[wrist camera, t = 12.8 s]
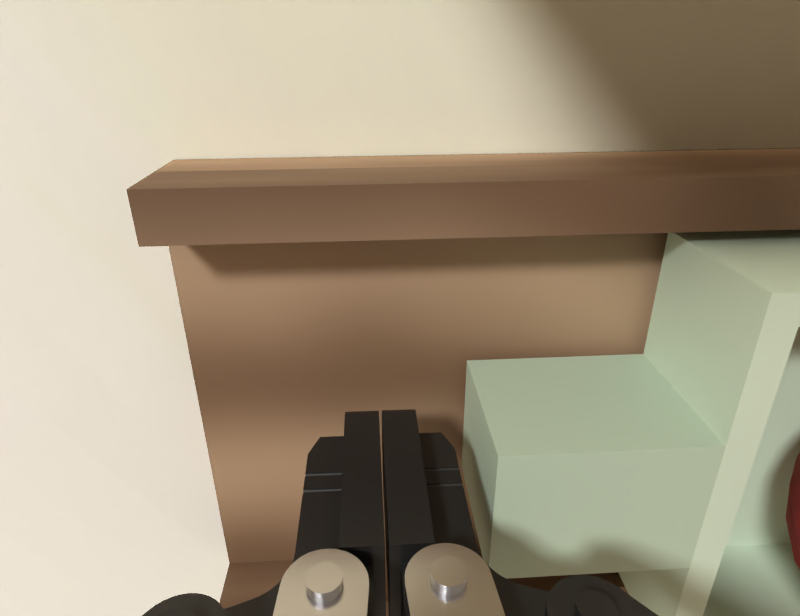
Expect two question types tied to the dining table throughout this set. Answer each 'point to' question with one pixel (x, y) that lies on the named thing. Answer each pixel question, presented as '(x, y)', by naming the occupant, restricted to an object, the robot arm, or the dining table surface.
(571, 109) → the dining table surface
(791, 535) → the onion
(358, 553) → the robot arm
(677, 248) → the sled
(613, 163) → the rail
